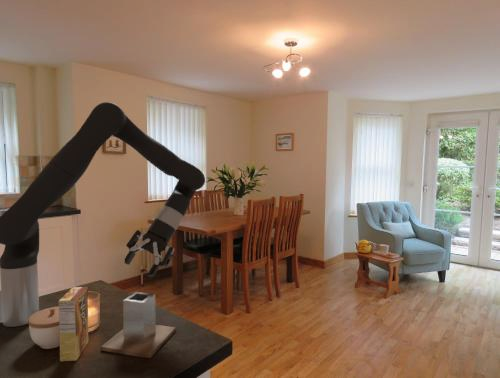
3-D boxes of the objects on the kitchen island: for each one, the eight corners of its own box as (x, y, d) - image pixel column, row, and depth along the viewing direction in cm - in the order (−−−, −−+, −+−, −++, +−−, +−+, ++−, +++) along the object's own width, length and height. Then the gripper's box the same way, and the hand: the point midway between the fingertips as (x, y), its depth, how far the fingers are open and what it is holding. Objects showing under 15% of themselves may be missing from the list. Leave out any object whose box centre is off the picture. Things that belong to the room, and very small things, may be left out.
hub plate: (101, 350, 85) (100, 337, 85) (132, 324, 99) (132, 313, 99) (150, 358, 82) (149, 344, 82) (175, 330, 96) (175, 319, 95)
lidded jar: (69, 328, 96) (68, 297, 96) (81, 343, 89) (80, 309, 88) (25, 342, 89) (23, 308, 88) (34, 359, 81) (33, 322, 81)
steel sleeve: (123, 340, 88) (123, 300, 87) (136, 329, 94) (135, 291, 93) (143, 343, 87) (143, 302, 86) (155, 332, 93) (155, 294, 92)
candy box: (72, 342, 89) (71, 287, 88) (89, 341, 90) (88, 286, 88) (59, 362, 80) (57, 300, 79) (78, 360, 81) (76, 299, 80)
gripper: (143, 210, 104) (113, 257, 98) (181, 229, 100) (152, 278, 95) (152, 218, 111) (124, 262, 105) (188, 235, 107) (161, 282, 102)
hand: (137, 270), depth 100 cm, fingers open, 8 cm apart
